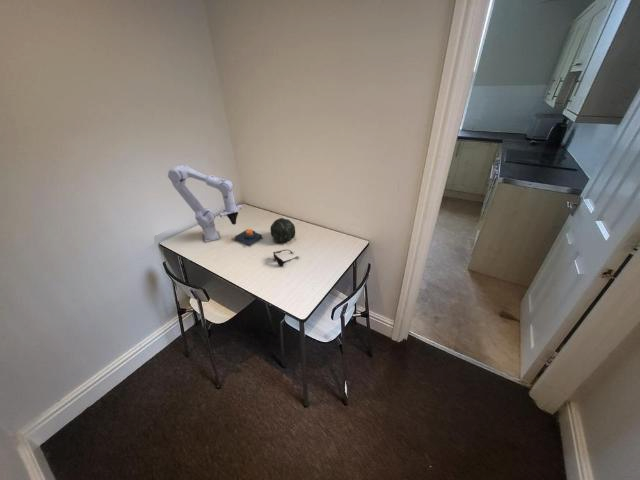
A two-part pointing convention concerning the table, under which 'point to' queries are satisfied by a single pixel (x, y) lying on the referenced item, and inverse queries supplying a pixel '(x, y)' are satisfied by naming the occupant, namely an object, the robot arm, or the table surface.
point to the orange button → (249, 232)
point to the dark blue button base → (248, 238)
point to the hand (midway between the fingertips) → (233, 223)
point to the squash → (282, 230)
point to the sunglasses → (280, 259)
